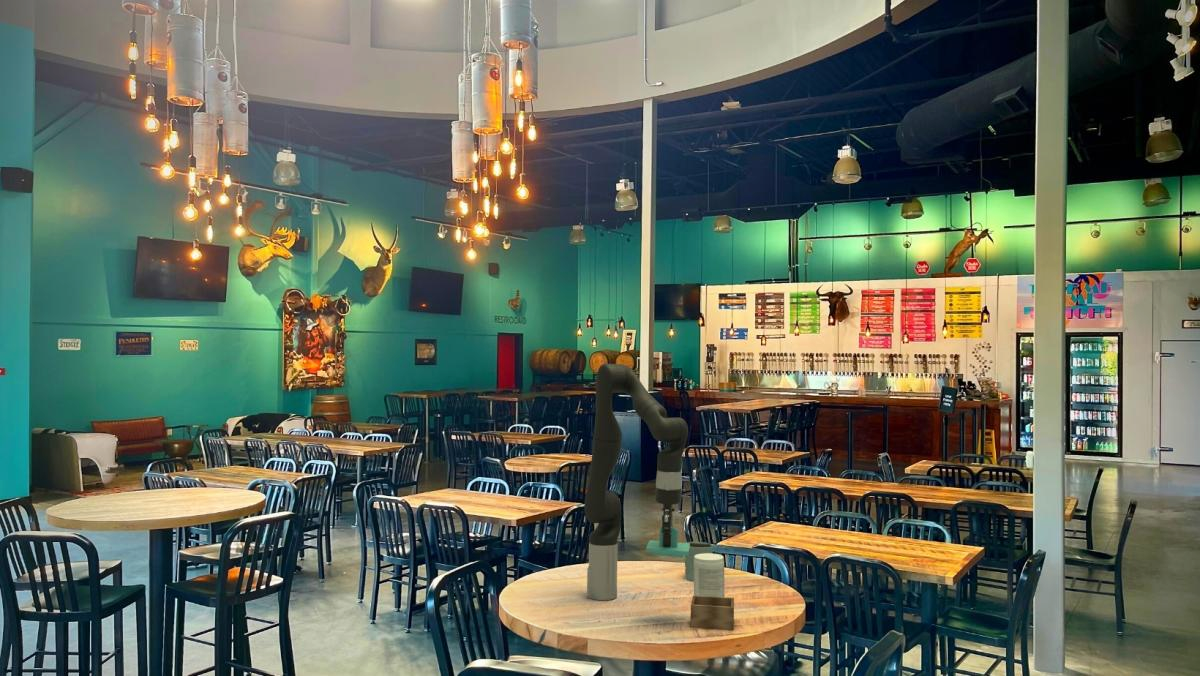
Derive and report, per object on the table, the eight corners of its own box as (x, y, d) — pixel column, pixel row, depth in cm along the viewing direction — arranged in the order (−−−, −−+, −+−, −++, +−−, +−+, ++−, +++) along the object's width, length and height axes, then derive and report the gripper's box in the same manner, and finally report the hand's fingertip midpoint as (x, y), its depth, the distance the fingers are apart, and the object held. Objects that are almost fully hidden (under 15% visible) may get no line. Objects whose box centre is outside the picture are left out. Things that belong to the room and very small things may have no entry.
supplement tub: (730, 604, 259) (730, 557, 259) (707, 609, 254) (707, 561, 254) (710, 597, 267) (710, 551, 267) (687, 601, 262) (687, 555, 262)
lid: (645, 555, 237) (646, 530, 237) (649, 547, 246) (650, 523, 247) (687, 559, 235) (688, 534, 235) (689, 550, 245) (690, 526, 245)
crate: (690, 630, 234) (690, 605, 234) (692, 619, 244) (692, 595, 244) (733, 632, 232) (733, 607, 232) (733, 621, 242) (734, 597, 242)
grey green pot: (677, 578, 290) (677, 543, 290) (696, 573, 297) (696, 539, 297) (699, 584, 282) (700, 548, 283) (718, 579, 289) (718, 544, 290)
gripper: (658, 481, 248) (656, 539, 248) (653, 489, 235) (652, 550, 234) (683, 483, 247) (681, 541, 247) (680, 490, 233) (678, 552, 233)
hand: (667, 545), depth 241 cm, fingers closed on lid, 3 cm apart
